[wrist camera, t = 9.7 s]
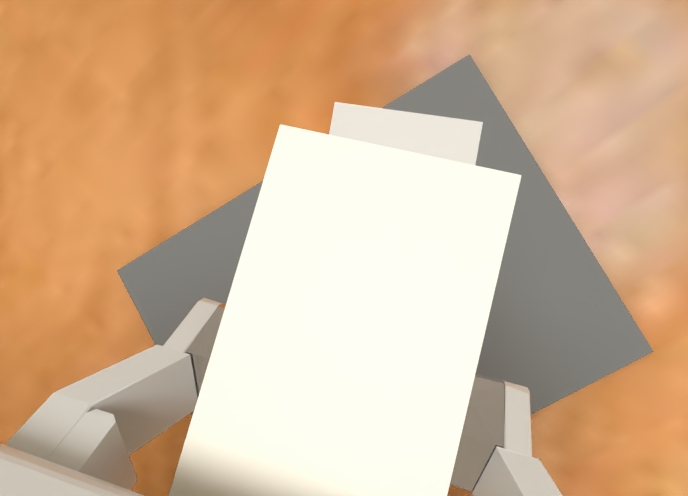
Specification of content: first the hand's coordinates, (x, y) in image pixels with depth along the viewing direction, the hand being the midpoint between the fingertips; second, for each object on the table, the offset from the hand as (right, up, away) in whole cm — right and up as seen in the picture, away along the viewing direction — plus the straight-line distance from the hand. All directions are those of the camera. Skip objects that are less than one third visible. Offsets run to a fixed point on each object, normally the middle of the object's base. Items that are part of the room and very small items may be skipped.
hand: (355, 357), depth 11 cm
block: (+1, +4, 0) cm, 4 cm away
